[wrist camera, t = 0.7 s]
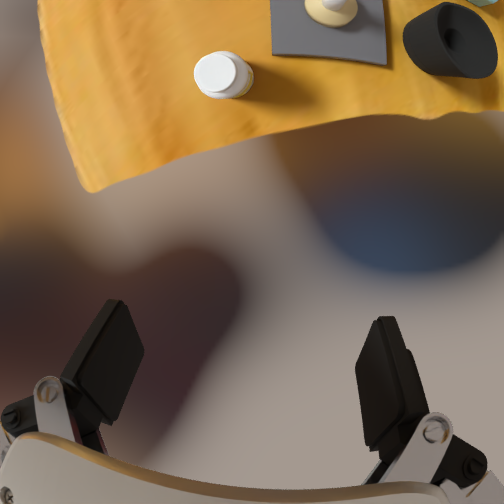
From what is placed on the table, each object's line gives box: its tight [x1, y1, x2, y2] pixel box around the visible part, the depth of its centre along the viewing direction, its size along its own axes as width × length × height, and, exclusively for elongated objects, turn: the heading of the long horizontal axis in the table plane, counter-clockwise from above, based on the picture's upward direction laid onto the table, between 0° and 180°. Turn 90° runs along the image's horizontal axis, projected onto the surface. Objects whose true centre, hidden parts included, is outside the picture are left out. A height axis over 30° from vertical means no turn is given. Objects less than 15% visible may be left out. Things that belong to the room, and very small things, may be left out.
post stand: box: [270, 0, 387, 66], centre depth 20 cm, size 14×14×8 cm
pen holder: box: [403, 2, 498, 79], centre depth 19 cm, size 9×9×10 cm
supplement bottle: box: [194, 51, 254, 99], centre depth 25 cm, size 5×5×10 cm
